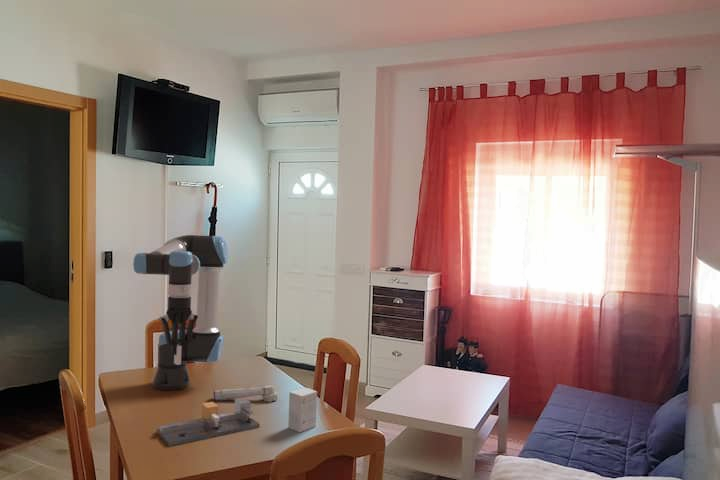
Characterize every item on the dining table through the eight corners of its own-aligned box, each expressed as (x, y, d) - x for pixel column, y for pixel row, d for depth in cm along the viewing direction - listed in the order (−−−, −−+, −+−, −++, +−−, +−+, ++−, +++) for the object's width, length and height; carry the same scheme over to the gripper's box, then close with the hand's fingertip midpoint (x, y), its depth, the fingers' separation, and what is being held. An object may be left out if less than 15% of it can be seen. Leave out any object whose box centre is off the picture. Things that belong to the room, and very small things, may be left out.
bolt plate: (156, 432, 188) (156, 412, 188) (243, 415, 208) (244, 397, 207) (168, 446, 178) (169, 425, 178) (259, 427, 197) (260, 408, 197)
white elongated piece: (214, 388, 226) (276, 381, 228) (216, 404, 226) (278, 396, 229) (212, 392, 221) (276, 385, 223) (214, 409, 221) (277, 401, 224)
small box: (303, 421, 204) (305, 386, 204) (316, 426, 200) (317, 391, 200) (287, 427, 198) (289, 391, 198) (299, 432, 194) (301, 396, 194)
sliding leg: (201, 420, 197) (201, 403, 197) (212, 417, 200) (212, 401, 199) (211, 428, 190) (212, 411, 190) (222, 426, 192) (223, 409, 192)
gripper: (164, 298, 185) (161, 368, 186) (202, 296, 193) (199, 364, 194) (157, 295, 191) (154, 363, 192) (194, 293, 199) (191, 358, 200)
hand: (177, 363), depth 193 cm, fingers closed
